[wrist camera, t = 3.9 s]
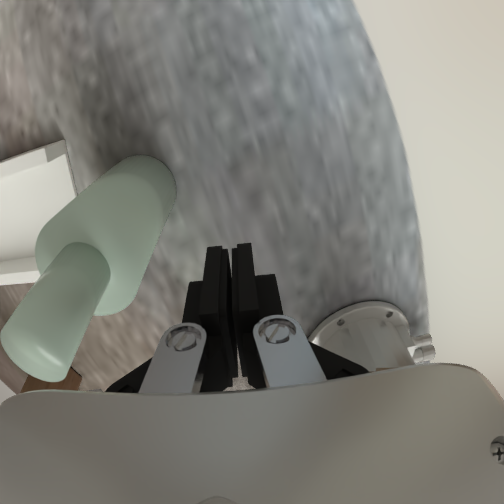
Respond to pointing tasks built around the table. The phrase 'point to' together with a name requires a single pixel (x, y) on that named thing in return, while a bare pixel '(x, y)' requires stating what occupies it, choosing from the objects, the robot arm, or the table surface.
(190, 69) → the table surface
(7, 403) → the robot arm
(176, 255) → the table surface
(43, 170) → the u rest
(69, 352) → the bottle
